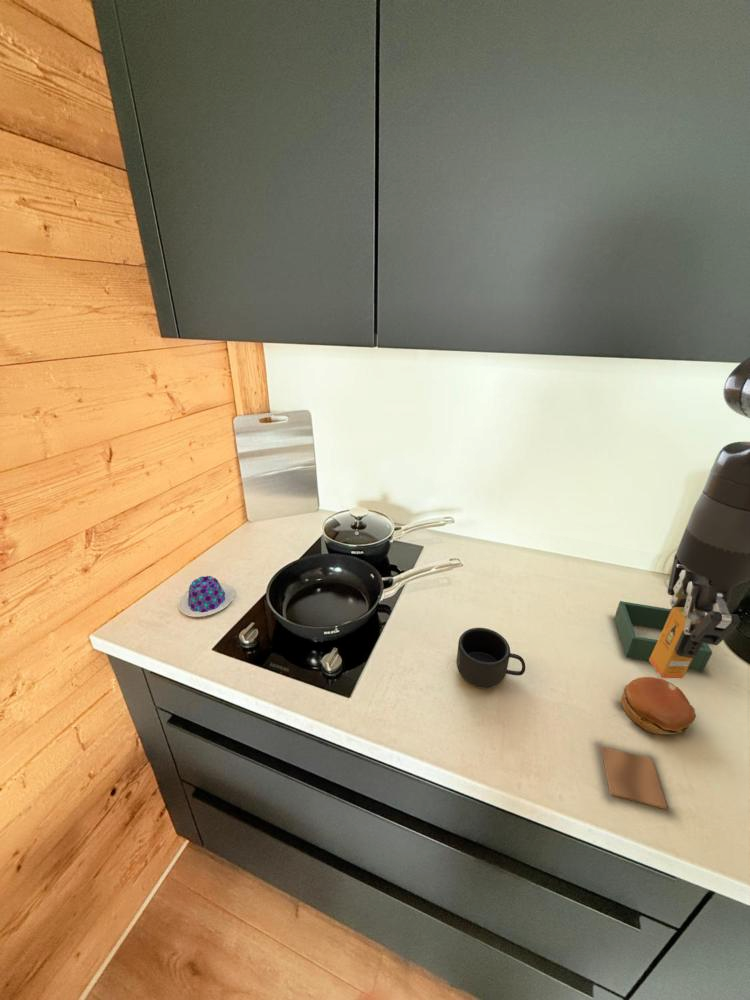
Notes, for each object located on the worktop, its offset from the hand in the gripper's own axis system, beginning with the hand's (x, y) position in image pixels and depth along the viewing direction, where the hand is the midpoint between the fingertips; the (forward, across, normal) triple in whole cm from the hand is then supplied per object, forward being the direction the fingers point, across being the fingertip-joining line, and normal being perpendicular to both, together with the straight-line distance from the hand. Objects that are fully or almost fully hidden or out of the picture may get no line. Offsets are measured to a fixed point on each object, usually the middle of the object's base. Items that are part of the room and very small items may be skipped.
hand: (678, 641), depth 57 cm
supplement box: (+5, 0, 0) cm, 5 cm away
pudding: (+22, +10, +86) cm, 89 cm away
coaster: (+22, -6, +2) cm, 22 cm away
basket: (+21, +24, -9) cm, 34 cm away
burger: (+22, +7, -4) cm, 23 cm away
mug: (+22, +7, +23) cm, 32 cm away
